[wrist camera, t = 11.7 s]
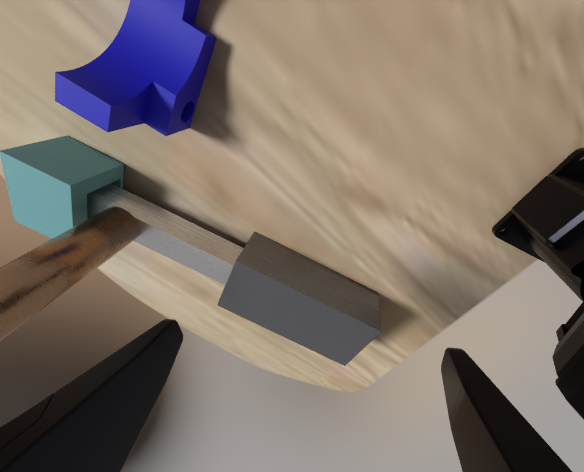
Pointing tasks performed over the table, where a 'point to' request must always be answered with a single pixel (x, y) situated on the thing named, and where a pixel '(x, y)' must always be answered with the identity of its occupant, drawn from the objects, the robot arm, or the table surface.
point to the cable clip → (143, 70)
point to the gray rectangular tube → (301, 300)
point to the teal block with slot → (56, 182)
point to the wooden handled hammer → (106, 252)
